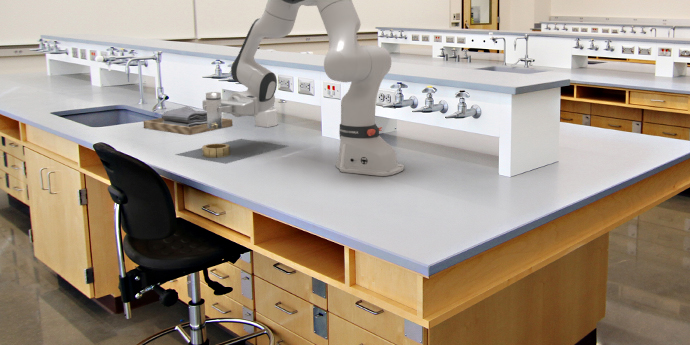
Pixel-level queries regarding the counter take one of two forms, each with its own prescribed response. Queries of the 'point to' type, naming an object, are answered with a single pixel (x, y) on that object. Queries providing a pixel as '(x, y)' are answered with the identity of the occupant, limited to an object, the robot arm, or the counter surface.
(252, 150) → the bench mat
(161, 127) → the towel frame
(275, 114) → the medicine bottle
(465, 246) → the counter surface
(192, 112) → the towel
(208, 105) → the clear lidded jar
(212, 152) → the brass ring collar
